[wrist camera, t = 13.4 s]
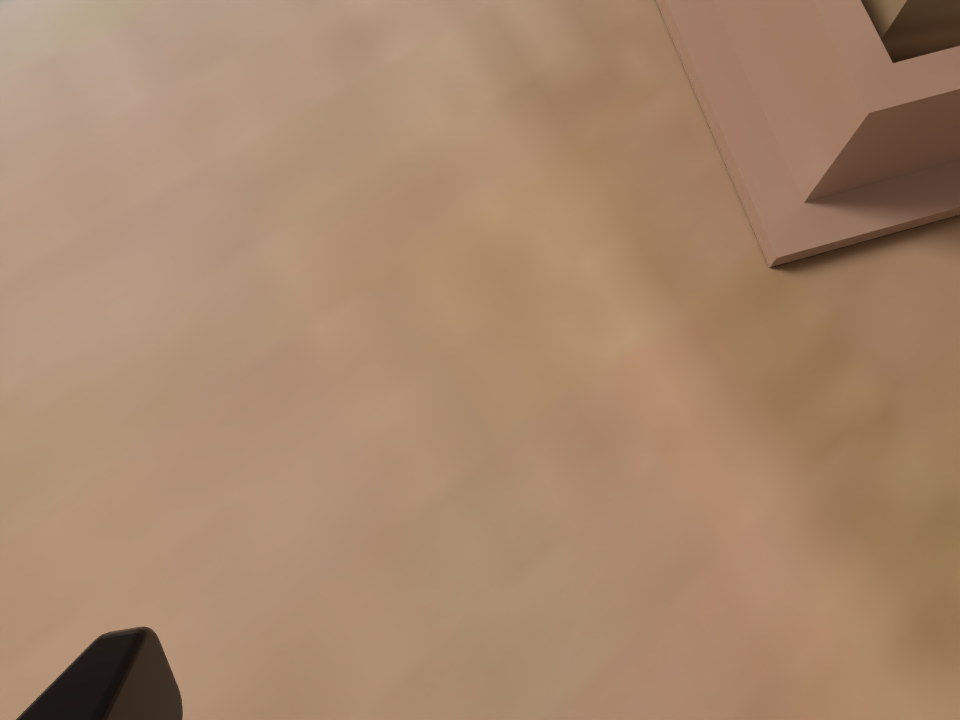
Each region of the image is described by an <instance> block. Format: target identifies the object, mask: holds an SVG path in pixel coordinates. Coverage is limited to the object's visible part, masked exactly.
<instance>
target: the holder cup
mask: <svg viewBox="0 0 960 720" xmlns="http://www.w3.org/2000/svg"><path fill="white" fill-rule="evenodd" d="M656 2H657V5H658V7H659V9H660V12H661V14H662V16H663V19H664V21H665V23H666V26H667V28H668V30H669V33H670V35H671V37H672V40H673V42H674V45H675V47H676V49H677V52H678V54H679V56H680V59H681V61H682V63H683V66H684V68H685V70H686V73H687V75H688V77H689V80H690V82H691V85H692V87H693V89H694V92H695V94H696V96H697V99H698V101H699V103H700V106H701V108H702V110H703V113H704V115H705V117H706V120H707V122H708V124H709V127H710V129H711V132H712V134H713V136H714V139H715V141H716V143H717V146H718V148H719V150H720V153H721V155H722V157H723V160H724V162H725V164H726V167H727V169H728V172H729V174H730V176H731V179H732V181H733V183H734V186H735V188H736V190H737V193H738V195H739V197H740V200H741V202H742V204H743V207H744V209H745V211H746V214H747V216H748V219H749V221H750V223H751V226H752V228H753V230H754V233H755V235H756V237H757V240H758V242H759V244H760V247H761V249H762V251H763V254H764V256H765V259H766V261H767V263H768V266H769V268H770V267H773V266H777V265H780V264H784V263H788V262H791V261H795V260H798V259H802V258H805V257H809V256H813V255H816V254H820V253H823V252H827V251H831V250H834V249H838V248H841V247H845V246H849V245H852V244H856V243H859V242H863V241H867V240H870V239H874V238H877V237H881V236H885V235H888V234H892V233H895V232H899V231H903V230H906V229H910V228H913V227H917V226H921V225H924V224H928V223H931V222H935V221H939V220H942V219H946V218H949V217H953V216H957V215H960V46H957V47H953V48H949V49H945V50H941V51H938V52H934V53H930V54H926V55H922V56H919V57H915V58H911V59H907V60H903V61H899V62H896V63H893V62H892V60H891V58H890V56H889V54H888V52H887V51H886V49H885V47H884V45H883V43H882V41H881V39H880V37H879V35H878V33H877V31H876V29H875V27H874V25H873V23H872V21H871V19H870V17H869V15H868V13H867V12H866V10H865V8H864V6H863V4H862V2H861V0H656Z"/></svg>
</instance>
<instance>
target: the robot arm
mask: <svg viewBox="0 0 960 720" xmlns="http://www.w3.org/2000/svg"><path fill="white" fill-rule="evenodd" d="M182 717H183V711H182V699H181V695H180V691H179V688H178V685H177V683H176V681H175V678H174V676H173V673H172V671H171V668H170V666H169V663H168V661H167V658H166V656H165V653H164V651H163V648H162V646H161V643H160V641H159V638H158V637H157V635H156V633H155V632H154V631H153V630H152V629H150V628H148V627H136V628H130V629H124V630H118V631H112V632H108V633H105V634H103V635H101V636H99V637H98V638H97V639H96V640H95V641H93V642H92V643H91V644H90V645H89V646H88V647H87V648H86V649H85V650H84V651H83V653H82V654H81V655H80V656H79V657H78V658H77V659H76V660H75V661H74V662H73V663H72V664H71V665H70V666H69V667H68V668H67V669H66V670H65V671H64V672H63V673H62V674H61V675H60V676H59V677H58V678H57V679H56V680H55V681H54V682H53V683H52V684H51V685H50V686H49V687H48V688H47V689H46V690H45V691H44V692H43V693H42V694H41V695H40V696H39V697H38V698H37V699H36V700H35V701H34V702H33V703H32V704H31V705H30V706H29V707H28V708H27V709H26V710H25V711H24V712H23V713H22V714H21V715H20V716H19V717H18V718H17V719H16V720H182Z"/></svg>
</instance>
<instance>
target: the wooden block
mask: <svg viewBox="0 0 960 720" xmlns="http://www.w3.org/2000/svg"><path fill="white" fill-rule="evenodd" d="M861 2H862V4H863V6H864V8H865V10H866V12H867V13H868V15H869V17H870V19H871V21H872V23H873V25H874V27H875V29H876V31H877V33H878V35H879V37H880V39H881V41H882V43H883V45H884V47H885V49H886V51H887V52H888V54H889V56H890V58H891V60H892V62H893V63H896V62H899V61H903V60H907V59H911V58H915V57H919V56H922V55H926V54H930V53H934V52H938V51H941V50H945V49H949V48H953V47H957V46H960V0H861Z"/></svg>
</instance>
